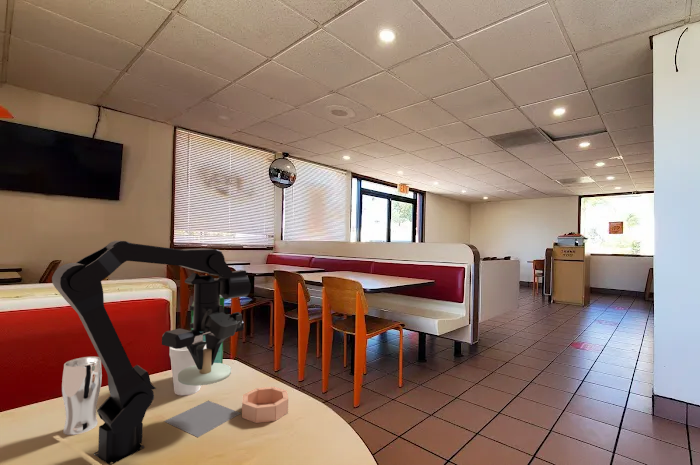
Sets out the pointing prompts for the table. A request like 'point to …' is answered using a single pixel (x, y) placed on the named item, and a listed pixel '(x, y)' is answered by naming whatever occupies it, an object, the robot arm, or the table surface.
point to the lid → (204, 372)
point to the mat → (202, 418)
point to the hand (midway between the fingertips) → (205, 367)
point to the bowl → (264, 404)
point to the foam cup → (179, 362)
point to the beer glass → (81, 393)
